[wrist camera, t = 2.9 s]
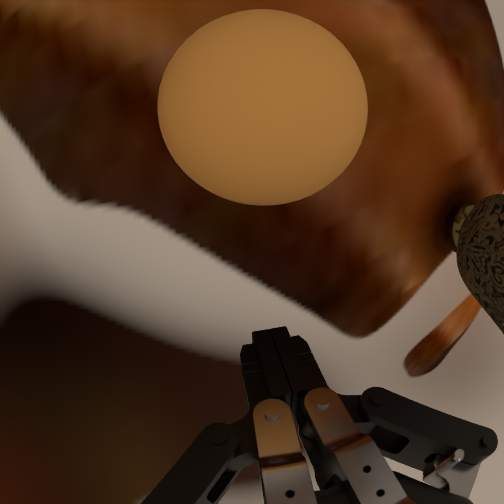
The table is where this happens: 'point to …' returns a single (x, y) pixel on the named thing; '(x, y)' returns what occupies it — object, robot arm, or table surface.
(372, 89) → the table surface
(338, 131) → the ball
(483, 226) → the jagged textured lump
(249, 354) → the robot arm
